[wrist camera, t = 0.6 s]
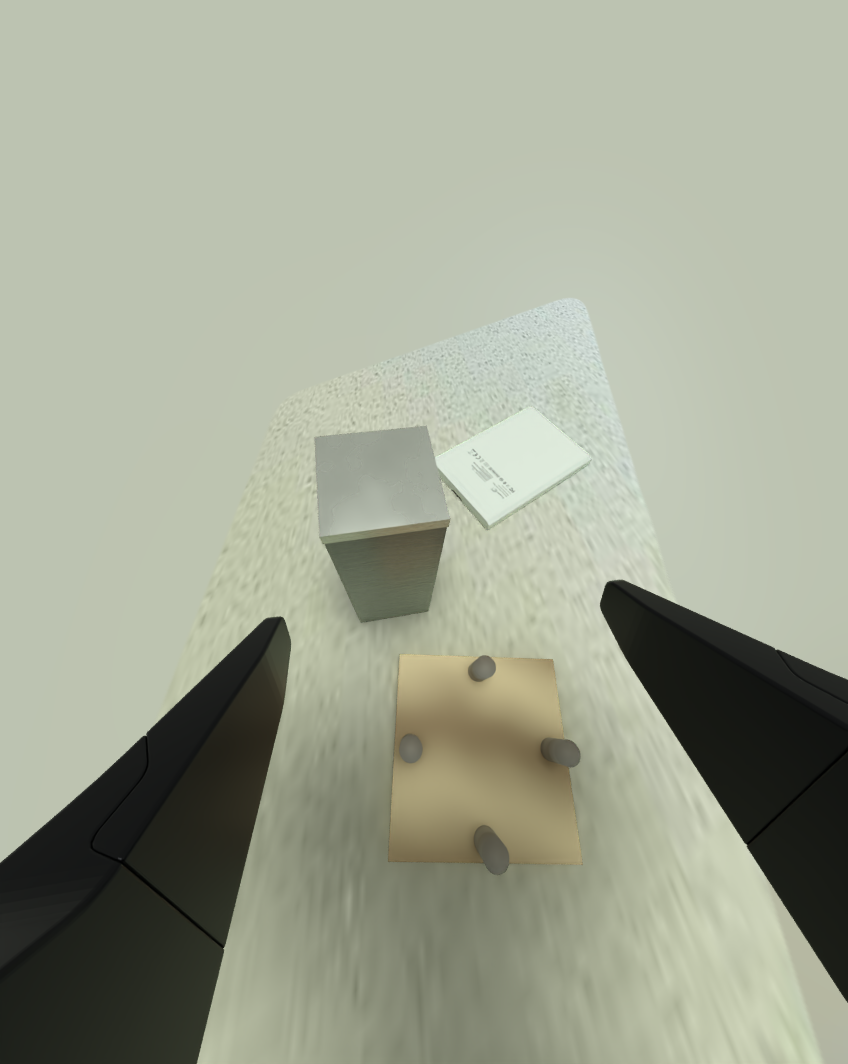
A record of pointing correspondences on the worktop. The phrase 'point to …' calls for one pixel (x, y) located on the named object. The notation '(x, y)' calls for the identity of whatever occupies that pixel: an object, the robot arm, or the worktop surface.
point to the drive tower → (382, 517)
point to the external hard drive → (510, 465)
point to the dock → (481, 764)
